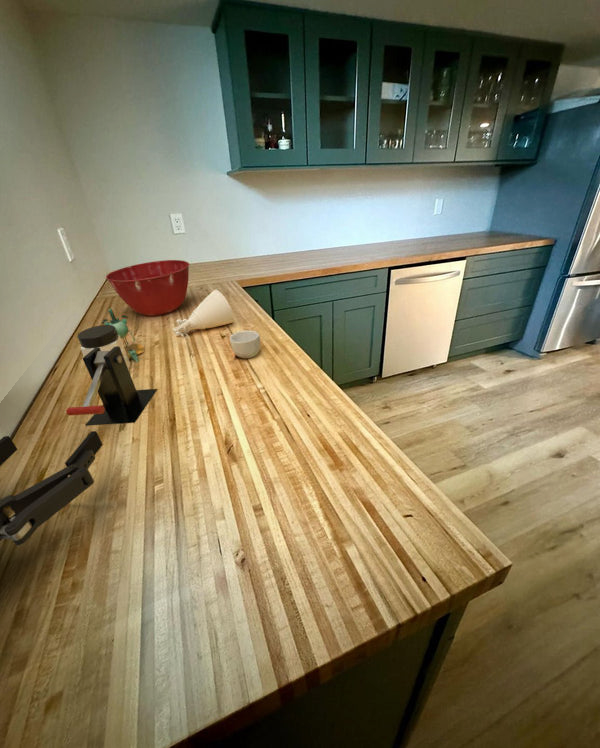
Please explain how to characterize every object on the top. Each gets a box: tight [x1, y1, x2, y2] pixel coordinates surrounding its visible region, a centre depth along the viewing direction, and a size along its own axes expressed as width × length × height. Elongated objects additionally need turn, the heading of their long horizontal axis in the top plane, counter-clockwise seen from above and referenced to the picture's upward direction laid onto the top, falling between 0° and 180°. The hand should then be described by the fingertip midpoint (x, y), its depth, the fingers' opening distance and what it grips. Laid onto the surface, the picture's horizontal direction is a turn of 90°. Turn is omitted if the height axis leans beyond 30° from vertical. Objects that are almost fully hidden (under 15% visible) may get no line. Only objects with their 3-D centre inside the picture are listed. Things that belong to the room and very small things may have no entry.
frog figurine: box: [101, 308, 145, 363], centre depth 92 cm, size 10×18×15 cm, turn 27°
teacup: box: [229, 329, 261, 359], centre depth 89 cm, size 10×8×5 cm
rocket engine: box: [172, 289, 235, 338], centre depth 105 cm, size 12×12×18 cm
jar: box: [76, 324, 131, 370], centre depth 82 cm, size 9×8×12 cm
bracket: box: [82, 346, 158, 427], centre depth 68 cm, size 12×10×14 cm
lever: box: [65, 351, 109, 417], centre depth 62 cm, size 13×6×2 cm, turn 1°
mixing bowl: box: [105, 259, 190, 317], centre depth 125 cm, size 28×28×15 cm
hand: (54, 440), depth 51 cm, fingers open, 13 cm apart
